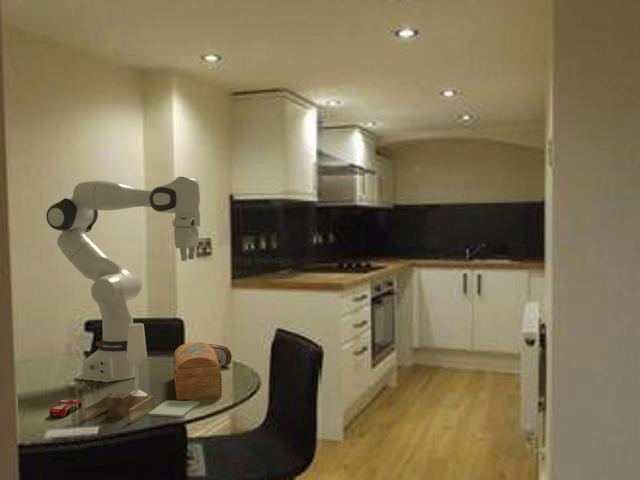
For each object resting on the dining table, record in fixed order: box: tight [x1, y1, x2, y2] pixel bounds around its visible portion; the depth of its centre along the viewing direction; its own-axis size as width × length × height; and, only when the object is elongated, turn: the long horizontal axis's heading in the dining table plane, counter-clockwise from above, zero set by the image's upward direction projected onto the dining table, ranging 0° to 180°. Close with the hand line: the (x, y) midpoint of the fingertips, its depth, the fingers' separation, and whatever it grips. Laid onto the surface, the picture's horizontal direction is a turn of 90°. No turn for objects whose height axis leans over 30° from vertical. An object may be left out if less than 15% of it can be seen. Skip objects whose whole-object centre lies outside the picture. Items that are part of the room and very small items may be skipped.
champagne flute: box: [126, 322, 148, 396], centre depth 210 cm, size 7×7×24 cm
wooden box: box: [173, 341, 223, 401], centre depth 221 cm, size 30×16×14 cm, turn 14°
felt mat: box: [147, 399, 200, 418], centre depth 194 cm, size 11×14×1 cm
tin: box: [208, 343, 233, 368], centre depth 254 cm, size 15×3×8 cm, turn 58°
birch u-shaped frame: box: [84, 393, 155, 424], centre depth 189 cm, size 15×14×4 cm
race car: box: [48, 399, 82, 418], centre depth 192 cm, size 13×5×4 cm, turn 174°
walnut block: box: [107, 392, 132, 419], centre depth 188 cm, size 5×5×6 cm
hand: (187, 260), depth 225 cm, fingers open, 8 cm apart
